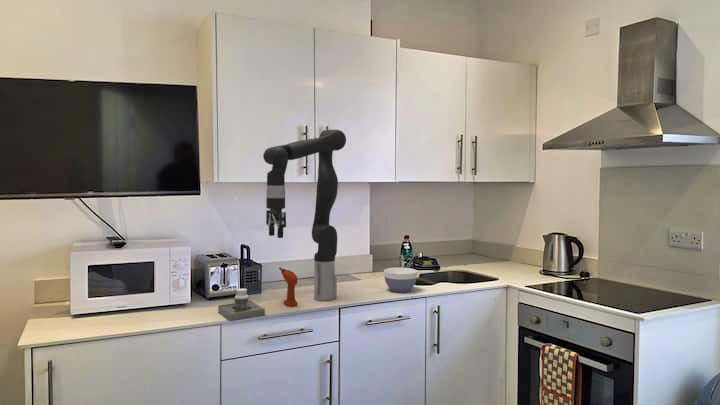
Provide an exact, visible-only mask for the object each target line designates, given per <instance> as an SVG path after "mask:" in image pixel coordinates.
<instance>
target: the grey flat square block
mask: <svg viewBox="0 0 720 405" xmlns="http://www.w3.org/2000/svg"><path fill="white" fill-rule="evenodd" d="M217 309H218V310H217V312H218V313H219V314H220V315H222V316H223V317H224V318H226V319H227V320H228V321H229V322H231V321H238V320H245V319H251V318H257V317H263V316H265V315H266V308H265V307H262V306H261V305H259V304H257V303H255V302H254V301H253V300H249V309H244V310H237V311H236V310H235V302H233V303H226V304H218V305H217Z"/></svg>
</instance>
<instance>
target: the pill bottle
mask: <svg viewBox="0 0 720 405" xmlns="http://www.w3.org/2000/svg"><path fill="white" fill-rule="evenodd" d="M247 292H248V289H247V288H238V289H237V288H236V295H235V296H234V303H235V310H236V311H237V310H244V309H249V301H250V298H249V295H248V294H247Z"/></svg>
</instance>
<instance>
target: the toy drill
mask: <svg viewBox="0 0 720 405" xmlns="http://www.w3.org/2000/svg"><path fill="white" fill-rule="evenodd" d="M278 269H279V270H280V273H281V274H282V278H283V279H284V280H285V283H286V284H287V289H286V299H285V300H283V305H284V306H286V307H291V308H294V307H297V306H298V301H297V300H296V296H295V291H296V290H295V287H296V285H297V284H298V282H299V281H298V276H297V274H296V273H294V271H292V270H289V269H286V268H284V269H283V268H282V267H278Z"/></svg>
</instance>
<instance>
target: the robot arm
mask: <svg viewBox="0 0 720 405" xmlns="http://www.w3.org/2000/svg"><path fill="white" fill-rule="evenodd" d="M346 144H347V136H346V135H345V133H344V132H343V131H342V130H339V129H325V130H323V131H321V132H320V134H319V137H314V138H308V139H302V140H297V141H293V142H289V143H287V144H282V145H275V146H271V147H268V148H267V149H265V150H264V152H263V154H262V156H263V161H264V162H265V163H266V164H268V165H272V166H271V170H269V171H267V174H266V191H265V192H266V195H265V196H266V198H265V199H266V202H265V203H266V204H265V205H266V209H267V210H266V215H265V220H266V221H265V225H267V226H268V236H269V237H270V236H271V237H274V236H275V225H276V228H277V232H276V234H277V236H276V237H277V238H278V239H283V238H284V228H286V227H287V216H286V215H287V213H286V212H285V211H282V210H284V209H285V208H286V189H285V184H286V182H285V175H286V172H287V167H288V163H289V161H293V160H298V159H301V158H305V157H308V156H310V155H314V154H318V168H317V182H316V194H315V196H316V198H315V211H314V218H313V223H312V226H311V238H312V241H313V242H314V243H316V244H317V245H318V246H317V252H316V253H314V257H313V261H314V262H313V265H314V266H313V275H314V276H313V282H314V283H313V286H314V288H313V290H314V291H313V299H314V300H316V301H321V302H322V301H326V302H328V301H333V300H335V299H337V293H338V292H337V290H338V289H337V288H338V278H337V277H336V276H335V275H336V255H337V252H338V231H337V230H336V228H335V226H333V225H331V224H330V217H331V215H330V214H331V211H332V209H333V206H334V204H335V202H336V200H337V197H338V196H337V195H338V190H339V189H338V188H339V186H338V185H339V180H338V176H337V172H336V170H335V167H334V165H333V153H334V152H335V151H340V150H342V149H343V148H345V145H346Z"/></svg>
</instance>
